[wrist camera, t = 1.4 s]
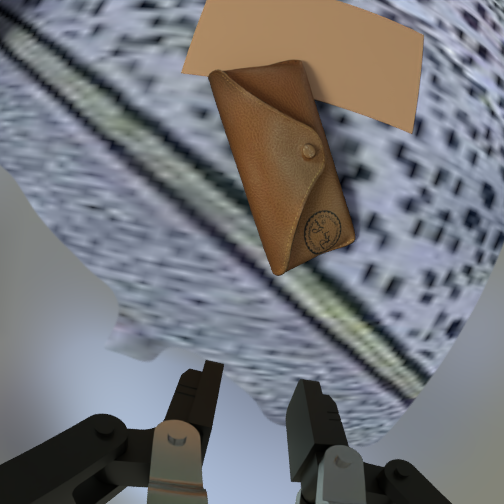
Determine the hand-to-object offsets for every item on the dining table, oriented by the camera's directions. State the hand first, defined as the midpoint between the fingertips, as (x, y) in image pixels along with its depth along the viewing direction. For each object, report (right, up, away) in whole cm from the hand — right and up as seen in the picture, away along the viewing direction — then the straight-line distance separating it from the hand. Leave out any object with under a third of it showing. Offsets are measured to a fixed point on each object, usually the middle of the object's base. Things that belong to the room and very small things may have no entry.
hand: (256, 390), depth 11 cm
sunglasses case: (+3, +13, +15) cm, 20 cm away
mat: (+6, +25, +12) cm, 28 cm away
